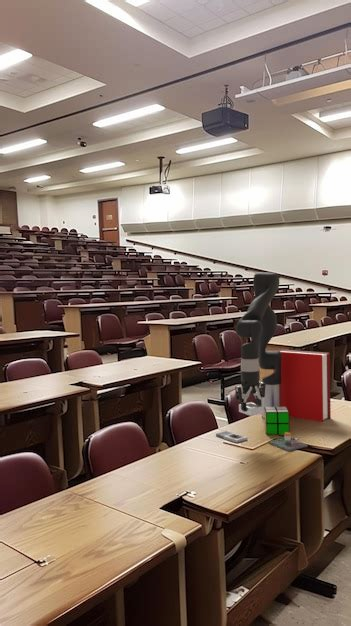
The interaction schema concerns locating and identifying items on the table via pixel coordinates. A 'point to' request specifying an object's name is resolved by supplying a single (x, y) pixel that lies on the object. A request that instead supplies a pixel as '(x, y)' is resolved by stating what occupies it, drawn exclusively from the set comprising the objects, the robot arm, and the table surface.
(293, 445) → the keeper
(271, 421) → the puzzle cube
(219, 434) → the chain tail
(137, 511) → the table surface
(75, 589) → the table surface
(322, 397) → the book
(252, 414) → the link
